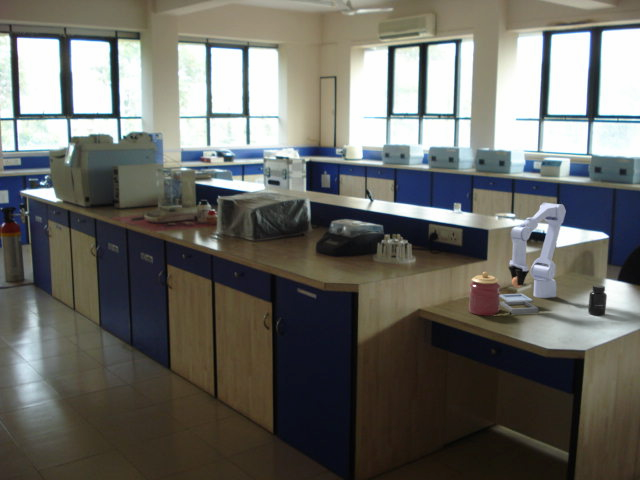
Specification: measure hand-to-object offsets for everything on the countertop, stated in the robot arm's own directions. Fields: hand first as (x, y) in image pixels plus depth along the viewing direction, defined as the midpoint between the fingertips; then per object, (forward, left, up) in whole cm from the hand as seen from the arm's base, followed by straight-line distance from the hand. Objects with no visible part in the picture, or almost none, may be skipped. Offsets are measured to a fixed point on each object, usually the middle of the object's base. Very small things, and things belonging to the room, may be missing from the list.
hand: (517, 283), depth 299 cm
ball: (0, 0, -2) cm, 2 cm away
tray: (+3, +8, -10) cm, 13 cm away
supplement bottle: (-27, +19, -10) cm, 35 cm away
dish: (-2, -6, -10) cm, 12 cm away
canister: (+19, +8, -10) cm, 22 cm away
